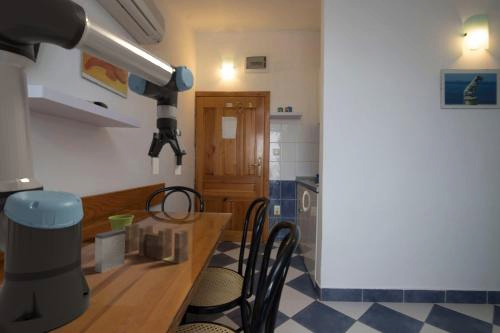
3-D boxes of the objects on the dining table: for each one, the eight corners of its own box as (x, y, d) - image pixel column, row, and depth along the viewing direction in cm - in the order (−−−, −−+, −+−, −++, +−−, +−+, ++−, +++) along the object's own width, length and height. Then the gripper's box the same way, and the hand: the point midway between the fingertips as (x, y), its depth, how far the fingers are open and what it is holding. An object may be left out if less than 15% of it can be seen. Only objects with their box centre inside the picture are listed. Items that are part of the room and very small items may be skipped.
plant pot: (104, 241, 98) (105, 219, 98) (111, 235, 107) (112, 215, 107) (130, 240, 100) (131, 218, 100) (135, 234, 109) (136, 214, 109)
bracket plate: (102, 273, 68) (102, 236, 69) (94, 270, 70) (95, 234, 70) (124, 264, 75) (125, 230, 75) (117, 262, 76) (117, 229, 76)
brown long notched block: (179, 263, 76) (179, 233, 76) (124, 252, 86) (125, 225, 86) (188, 259, 79) (188, 230, 79) (134, 249, 89) (134, 223, 89)
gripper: (196, 117, 92) (195, 174, 92) (156, 123, 107) (154, 173, 106) (180, 112, 86) (179, 174, 86) (139, 120, 101) (138, 173, 100)
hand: (165, 174), depth 96 cm, fingers open, 13 cm apart
